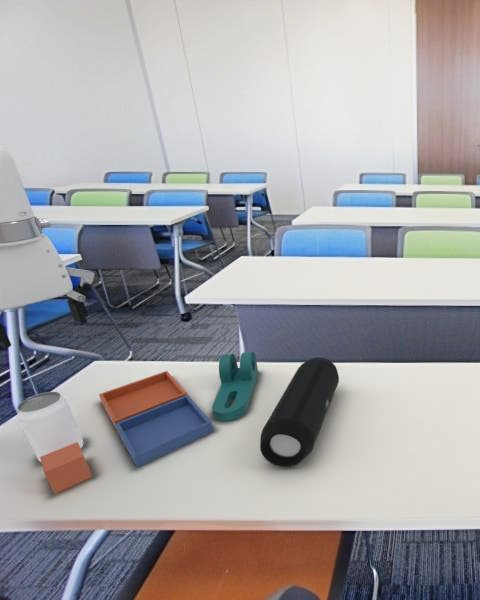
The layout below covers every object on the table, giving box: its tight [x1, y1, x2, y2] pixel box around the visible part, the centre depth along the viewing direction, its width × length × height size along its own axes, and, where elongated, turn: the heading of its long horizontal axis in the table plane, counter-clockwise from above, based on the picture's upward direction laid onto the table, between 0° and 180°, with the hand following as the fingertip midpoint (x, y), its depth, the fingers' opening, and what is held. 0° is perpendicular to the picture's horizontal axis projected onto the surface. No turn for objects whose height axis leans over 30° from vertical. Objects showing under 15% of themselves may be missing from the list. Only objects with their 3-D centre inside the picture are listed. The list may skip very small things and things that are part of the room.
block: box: [40, 442, 93, 495], centre depth 70 cm, size 5×5×5 cm
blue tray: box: [115, 394, 214, 468], centre depth 82 cm, size 13×13×2 cm
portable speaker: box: [259, 357, 340, 468], centre depth 84 cm, size 26×10×10 cm, turn 2°
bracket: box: [211, 351, 260, 422], centre depth 92 cm, size 18×7×8 cm, turn 15°
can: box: [17, 391, 84, 463], centre depth 74 cm, size 6×6×12 cm
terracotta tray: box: [98, 370, 188, 431], centre depth 90 cm, size 13×13×2 cm
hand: (45, 332), depth 66 cm, fingers open, 9 cm apart
